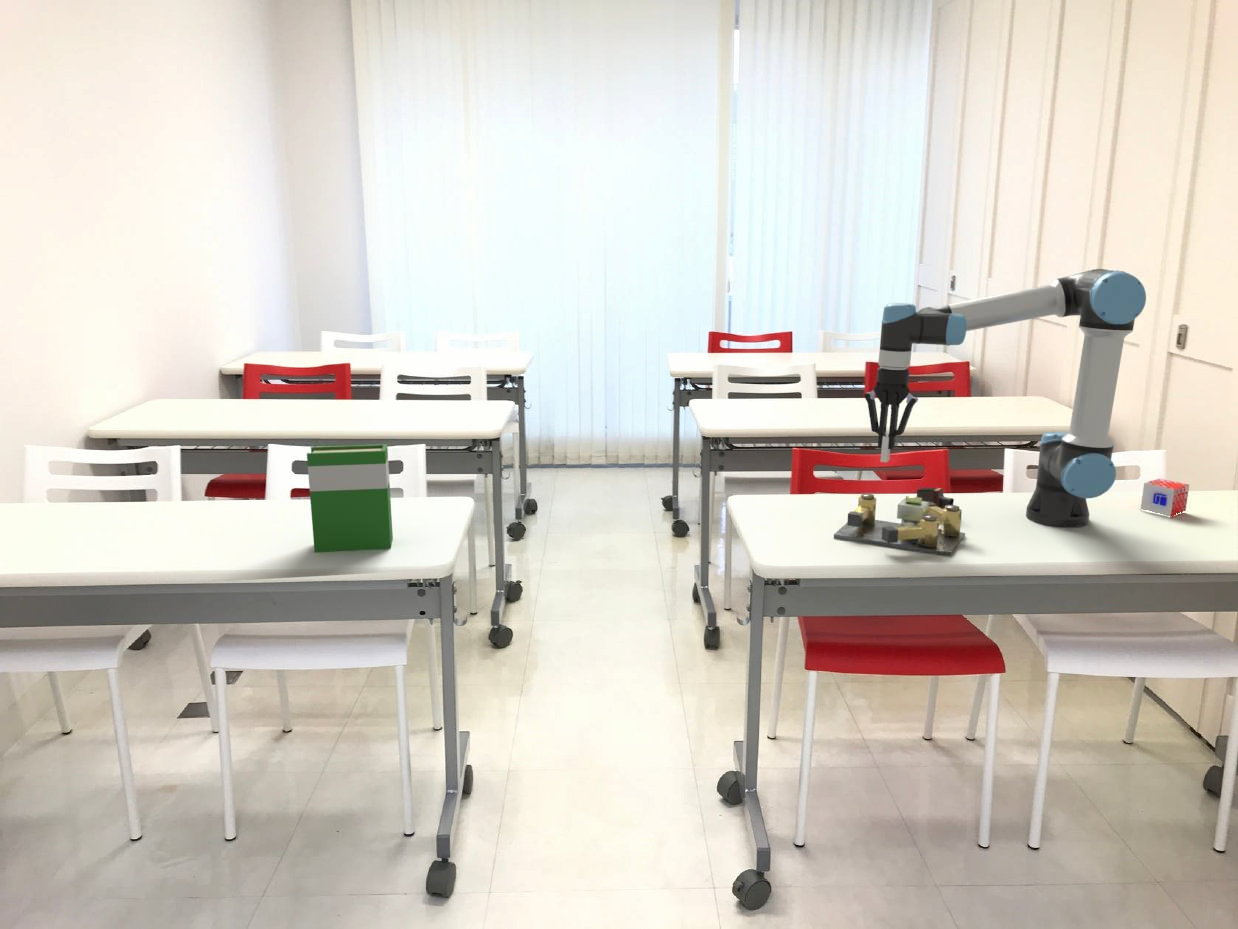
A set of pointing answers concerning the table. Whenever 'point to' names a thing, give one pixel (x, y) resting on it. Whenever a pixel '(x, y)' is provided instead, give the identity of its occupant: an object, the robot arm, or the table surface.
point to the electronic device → (934, 496)
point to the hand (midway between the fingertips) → (884, 460)
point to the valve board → (910, 515)
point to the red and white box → (1165, 497)
